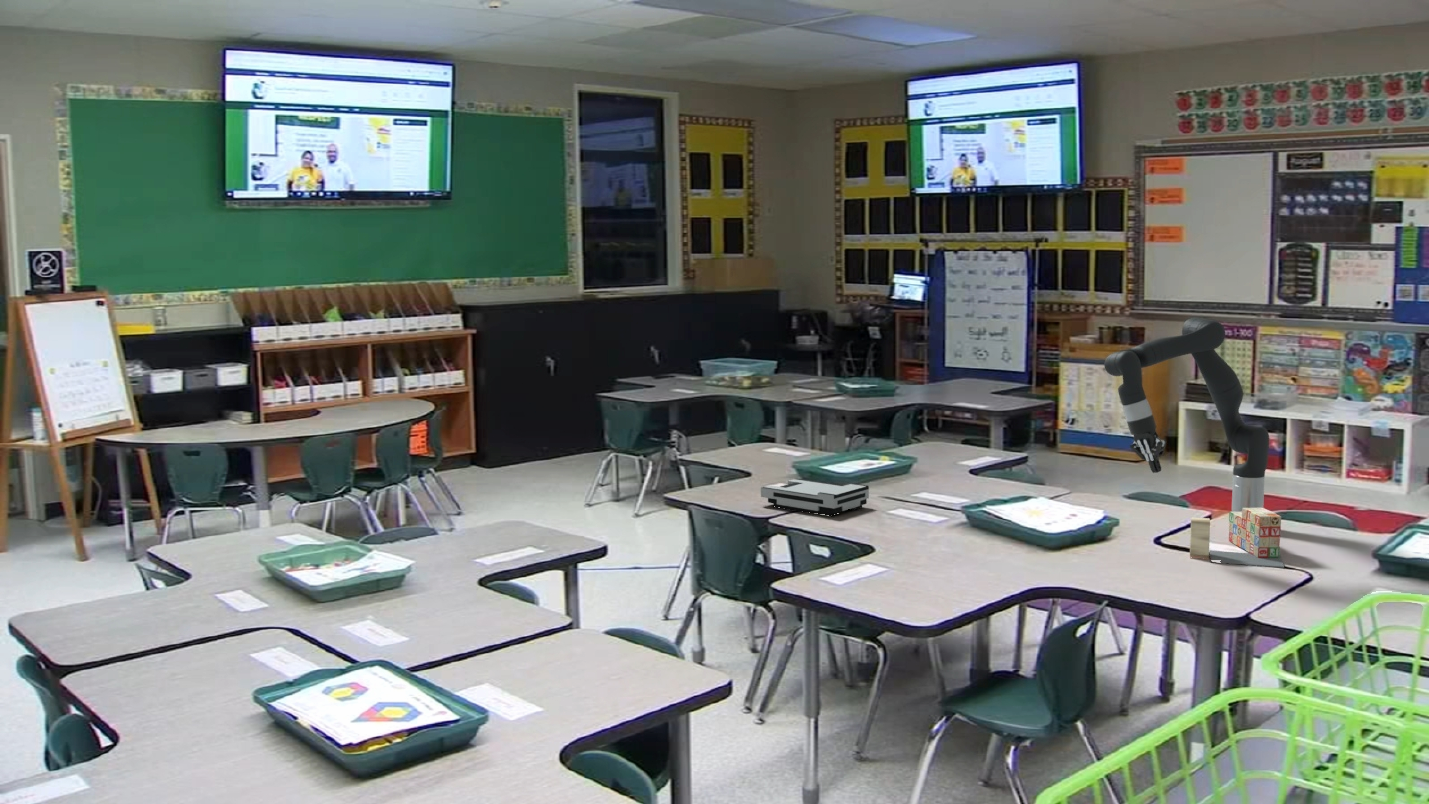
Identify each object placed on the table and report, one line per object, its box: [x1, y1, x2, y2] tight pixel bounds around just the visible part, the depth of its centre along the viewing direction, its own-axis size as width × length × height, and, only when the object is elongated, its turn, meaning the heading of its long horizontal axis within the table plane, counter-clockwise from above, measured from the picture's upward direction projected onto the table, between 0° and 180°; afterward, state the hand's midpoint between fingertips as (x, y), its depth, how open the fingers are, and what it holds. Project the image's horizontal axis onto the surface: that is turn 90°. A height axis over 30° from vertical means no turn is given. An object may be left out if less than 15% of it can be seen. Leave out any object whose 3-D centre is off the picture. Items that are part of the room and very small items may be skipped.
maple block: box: [1189, 516, 1211, 560], centre depth 351 cm, size 5×5×11 cm
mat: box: [1209, 550, 1285, 569], centre depth 348 cm, size 13×19×1 cm
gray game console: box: [760, 478, 870, 516], centre depth 427 cm, size 21×32×8 cm, turn 48°
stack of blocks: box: [1228, 507, 1282, 557], centre depth 358 cm, size 21×6×12 cm, turn 179°
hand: (1157, 471), depth 356 cm, fingers closed
